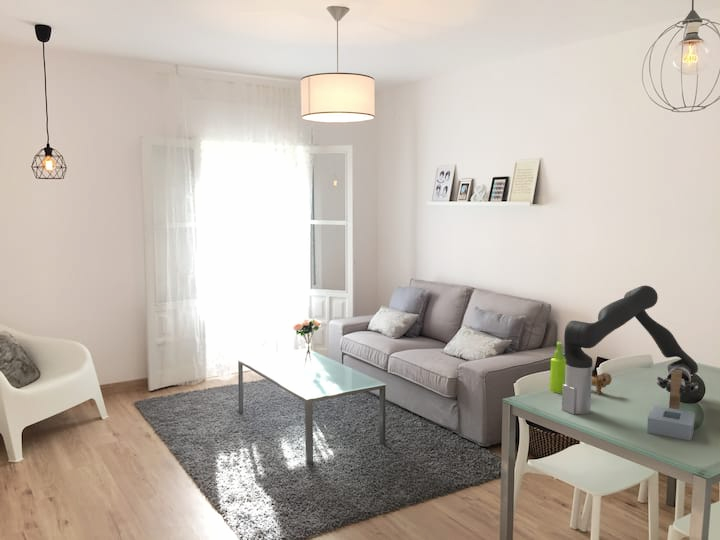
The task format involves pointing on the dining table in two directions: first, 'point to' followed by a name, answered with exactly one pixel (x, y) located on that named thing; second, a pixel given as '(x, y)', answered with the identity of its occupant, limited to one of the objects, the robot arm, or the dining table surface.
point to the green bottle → (557, 370)
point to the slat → (675, 389)
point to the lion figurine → (601, 381)
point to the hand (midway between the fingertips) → (675, 390)
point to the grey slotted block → (671, 422)
